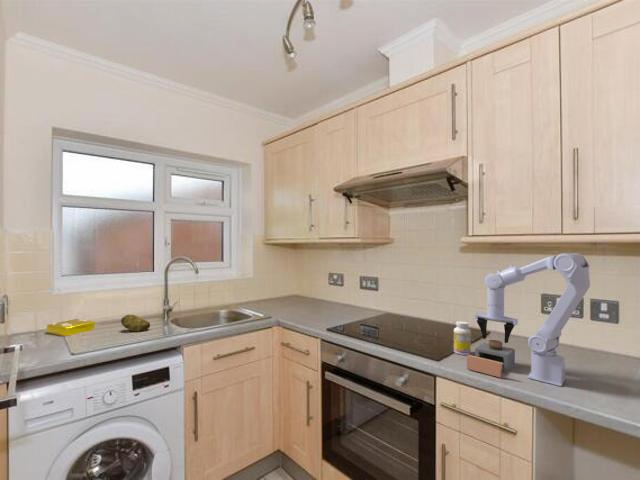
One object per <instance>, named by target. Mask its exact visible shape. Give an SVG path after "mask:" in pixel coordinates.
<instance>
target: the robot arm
mask: <svg viewBox="0 0 640 480" xmlns="http://www.w3.org/2000/svg"><path fill="white" fill-rule="evenodd" d="M589 269H590V263H588V261H587V259H586V257H584V255H582V254H580V253H576V252H575V253H574V252H572V253H560V254H558V255H556V254H555V255H552V256H548V257H545V258H542V259H539V260H537V261H534V262H532V263H528V264H526V265H523V266H522V267H521V266H519V265H512V264H511V265H509V266H508V267H507V268H506V269H503V270H497V271H496V273H491V272H490V273H488V275H486V276H485V278H484V284H485V286H486V287H487V288H486V289H487V295H486V296H487V299H486V301H487V303H486V304H487V305H486V306H487V307H486V309H487V310H486V312H487V313H478V312H475V313H474V319H476V323H477V325H478V327H479V329H480V332H481V335H482V339H483V340H485V339H487V335H488V334H487V326H488V321H490V322H496V323H497V322H498V323H502V324H504V325H503V327H504V328H503V329H504V344H508V343H509V339H510V337H511V336H510V335H511V333H512V332H513V330H514V328H515V326H517V325H518V318H514V317H509V316H505V288H506V287H507V286H510V285H513V284H516V283H519V282H520V283H521V282H523V281H524V280H525V278H526V276H528V275H532V274H535V273H539V272H542V271H546V270H552V271H553V270H555V271H557V272H558V273H560V275H561V276H562V277H564V280H565V282H566V283H567V286H566V287H565V289H564V290H563V292H562V294H561V296H560V297H559V299H558V300H557V302H556V304H555V306H554V307H553V309H552V310H551V312H550V314H549V315H548V317H547V319H546V320H545V322H544V323H543V324H542V325H541V326H540V327H539V328H538V330H537V331H536V332H535V333H534V334H531V335H530V336H529V337H528V339H527V345H528V347H529V348H530V372H529V374H528V375H527V378H528V379H531V380H533V381H534V380H535V381H538V382H542V383H547V384H550V385H554V386H559V387H561V386H563V385H564V383H565V380H566V374H565V373H566V371H565V369H566V368H565V366H566V363H565V362H566V361H565V357H564V355H563V356H562V355H559V354H558V353H557V350H556V349H557V348H558V347H559V344H560V338H561V335H562V331H563V329H564V327H565V326H566V325H567V322H568V321H569V320H570V318H571V317H572V315H573V313H574V312H575V311H576V308H578V306H579V304H580V302H582V300H583V298H584V297H585V295H586V294H587V292H588V291H589V289H590V288H591V282H590V281H591V280H590V271H589Z"/></svg>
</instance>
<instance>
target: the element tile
mask: <svg viewBox="0 0 640 480" xmlns="http://www.w3.org/2000/svg"><path fill="white" fill-rule="evenodd" d="M93 330H95V321H94V320H93V321H92V320H86V319H81V318H80V319H79V318H76V319H75V318H74V319H70V320H64V321H59V322H54V323H49V324H47V325H46V334H48V335H54V336H59V337H68V336H72V335H76V334H81V333H87V332H89V331H93Z"/></svg>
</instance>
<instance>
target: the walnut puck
mask: <svg viewBox="0 0 640 480" xmlns="http://www.w3.org/2000/svg"><path fill="white" fill-rule="evenodd" d="M488 344H489V348H490V349H493V350H502V347H503V342H502V341H500V340H496V339H490V340H488Z"/></svg>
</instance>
